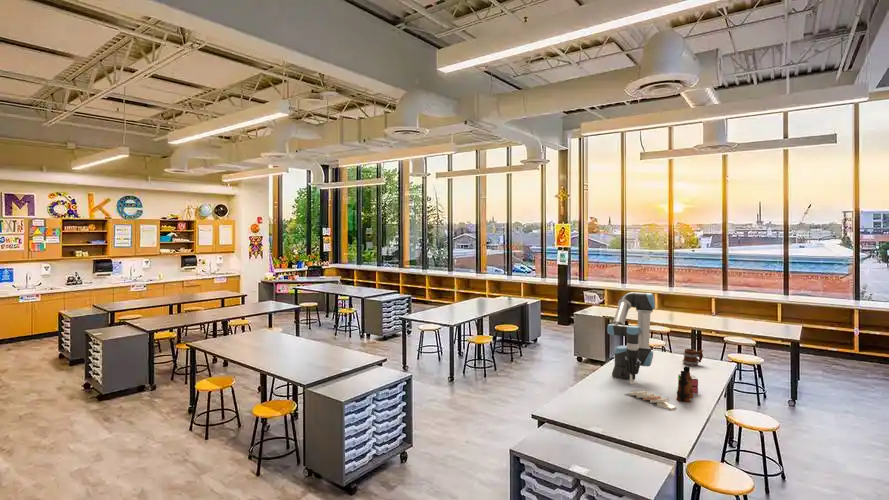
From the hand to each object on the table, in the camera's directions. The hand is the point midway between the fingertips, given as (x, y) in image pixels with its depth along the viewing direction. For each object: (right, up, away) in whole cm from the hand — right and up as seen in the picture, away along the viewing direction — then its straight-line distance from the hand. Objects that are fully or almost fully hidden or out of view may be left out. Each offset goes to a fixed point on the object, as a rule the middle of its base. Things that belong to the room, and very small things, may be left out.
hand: (632, 383), depth 319 cm
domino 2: (+3, -7, -4) cm, 9 cm away
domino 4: (+11, -8, -18) cm, 22 cm away
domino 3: (+8, -7, -13) cm, 17 cm away
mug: (+78, -4, +70) cm, 105 cm away
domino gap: (+5, -7, -9) cm, 12 cm away
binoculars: (+32, -8, -7) cm, 34 cm away
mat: (+5, -8, -8) cm, 12 cm away
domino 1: (0, -7, 0) cm, 7 cm away
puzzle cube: (+42, -8, +8) cm, 43 cm away
